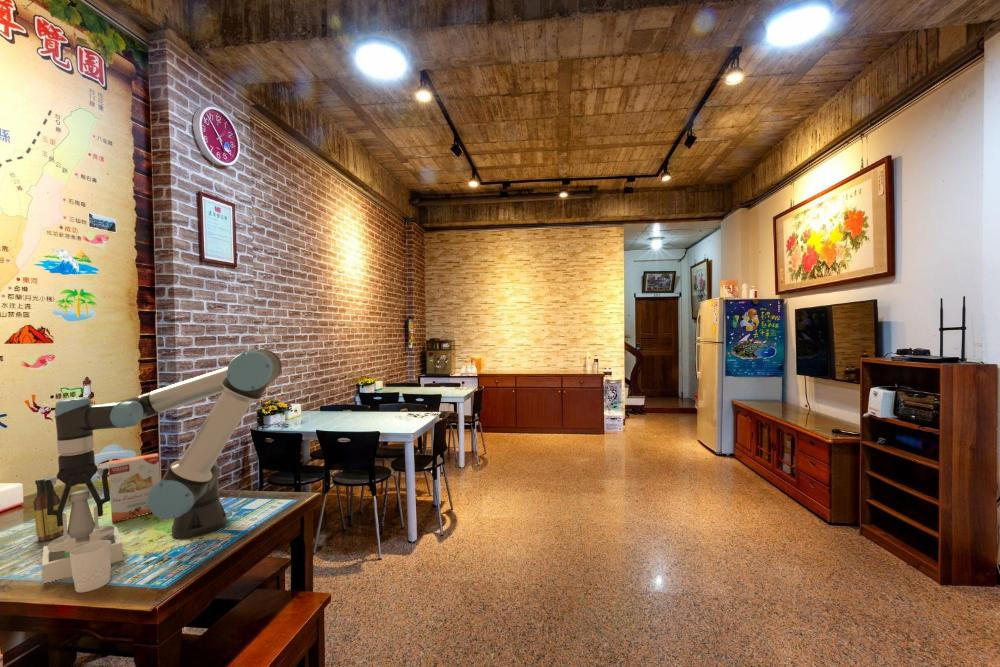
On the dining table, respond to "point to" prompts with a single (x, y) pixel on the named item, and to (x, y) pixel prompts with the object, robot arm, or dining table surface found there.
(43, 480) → the sauce bottle
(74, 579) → the white cup
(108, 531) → the grey shiny rounded piece
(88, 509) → the salt shaker
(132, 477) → the cracker box
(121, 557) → the square open box
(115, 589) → the dining table surface
